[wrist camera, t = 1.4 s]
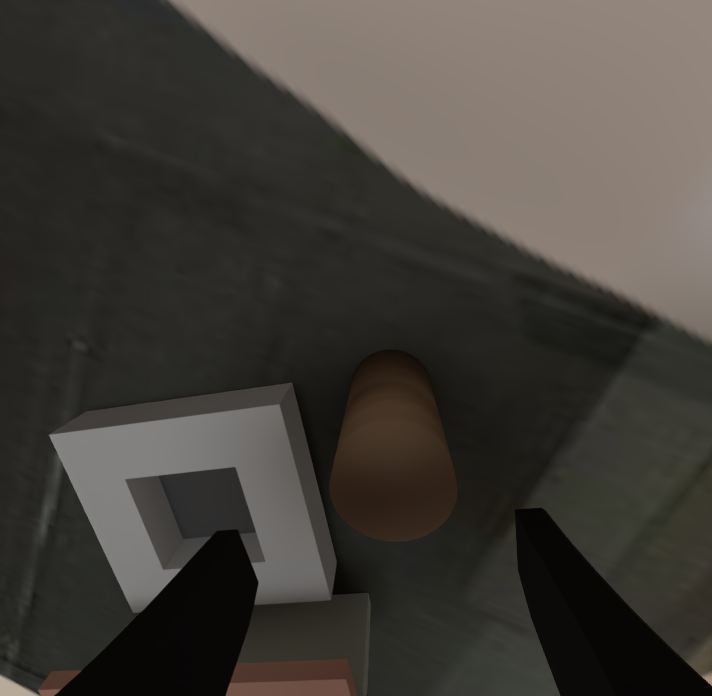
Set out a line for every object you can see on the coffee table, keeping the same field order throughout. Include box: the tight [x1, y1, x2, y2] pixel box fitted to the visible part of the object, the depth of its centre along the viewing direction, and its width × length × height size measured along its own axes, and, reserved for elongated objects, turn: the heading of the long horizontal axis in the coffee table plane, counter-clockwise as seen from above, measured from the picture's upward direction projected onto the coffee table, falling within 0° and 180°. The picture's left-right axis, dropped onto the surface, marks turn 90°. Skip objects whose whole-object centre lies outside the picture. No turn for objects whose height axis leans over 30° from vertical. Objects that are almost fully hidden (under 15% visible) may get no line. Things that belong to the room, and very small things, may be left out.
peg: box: [330, 350, 458, 542], centre depth 16 cm, size 4×4×8 cm
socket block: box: [49, 383, 337, 613], centre depth 21 cm, size 12×12×2 cm
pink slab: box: [38, 593, 371, 696], centre depth 21 cm, size 5×15×7 cm, turn 100°
